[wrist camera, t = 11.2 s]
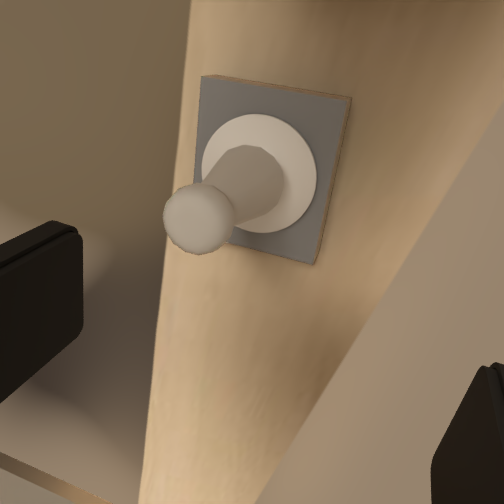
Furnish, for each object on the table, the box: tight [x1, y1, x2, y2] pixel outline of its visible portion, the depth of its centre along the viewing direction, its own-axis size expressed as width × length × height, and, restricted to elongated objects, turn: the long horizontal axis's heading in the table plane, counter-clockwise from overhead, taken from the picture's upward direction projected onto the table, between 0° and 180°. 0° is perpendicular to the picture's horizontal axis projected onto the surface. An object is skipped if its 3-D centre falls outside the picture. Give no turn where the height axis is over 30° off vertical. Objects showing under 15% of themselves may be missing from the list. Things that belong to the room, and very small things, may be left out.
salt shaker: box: [163, 145, 284, 255], centre depth 32 cm, size 6×6×13 cm
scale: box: [193, 75, 352, 265], centre depth 40 cm, size 14×12×4 cm
